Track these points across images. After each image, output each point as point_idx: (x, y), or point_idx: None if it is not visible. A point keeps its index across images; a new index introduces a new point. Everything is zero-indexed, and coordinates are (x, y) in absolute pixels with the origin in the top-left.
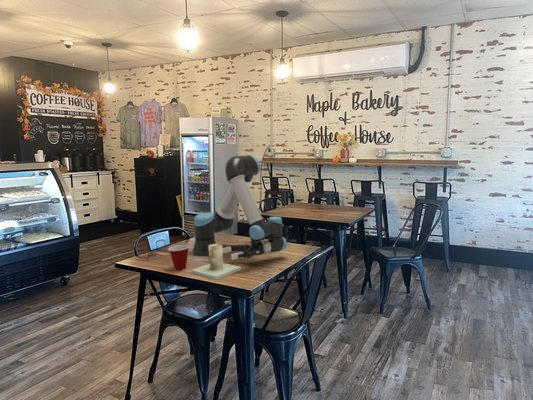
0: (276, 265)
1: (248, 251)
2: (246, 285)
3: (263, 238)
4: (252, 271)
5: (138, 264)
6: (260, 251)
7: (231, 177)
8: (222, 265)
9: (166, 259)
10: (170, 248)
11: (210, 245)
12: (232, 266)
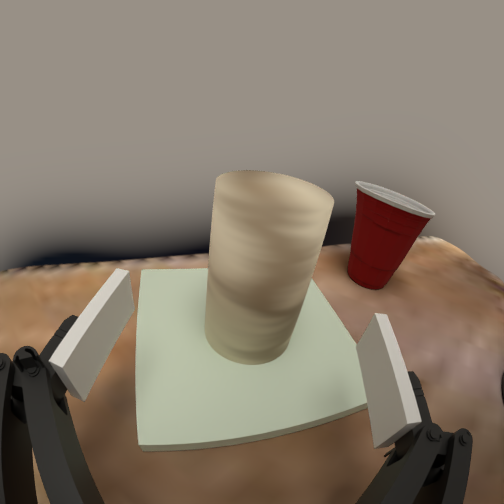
0: None
1: (35, 451)
2: (7, 291)
3: None
4: None
5: (431, 247)
6: None
7: None
8: (211, 328)
9: (468, 292)
10: (407, 200)
11: (303, 184)
12: (205, 415)
